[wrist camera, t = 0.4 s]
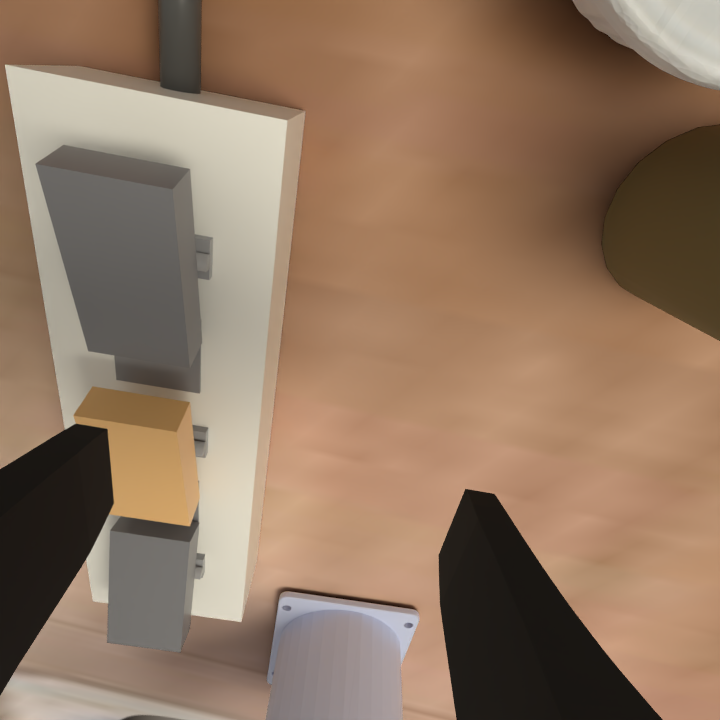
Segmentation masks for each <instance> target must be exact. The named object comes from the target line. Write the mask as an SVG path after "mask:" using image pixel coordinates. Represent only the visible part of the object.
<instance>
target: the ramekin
mask: <svg viewBox="0 0 720 720" xmlns="http://www.w3.org/2000/svg"><path fill="white" fill-rule="evenodd" d="M572 1H573V3H574V4H575V6H576V8H577V10H578V11H579V12H580V13H581V14H582V15H583V16H584V17H586V18H587V19H588V20H589V21H590V22H591V24H592V25H593V26H594V27H595V28H596V29H597V30H599V31H601V32H603V33H605V34H607V35H608V36H609V37H610V38H611V39H613V40H614V41H616V42H617V43H619V44H621V45H624V46H626V47H628V48H631V49H633V50H634V51H636V52H637V53H638V54H639V55H640V56H642V57H643V58H644V59H645V60H647V61H648V62H650V63H651V64H653V65H654V66H656V67H658V68H659V69H661V70H663V71H665V72H667V73H669V74H671V75H673V76H675V77H677V78H680V79H682V80H684V81H687V82H690V83H693V84H696V85H699V86H702V87H706V88H710V89H715V90H720V0H572Z"/></svg>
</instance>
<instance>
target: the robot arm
mask: <svg viewBox="0 0 720 720" xmlns="http://www.w3.org/2000/svg"><path fill="white" fill-rule="evenodd" d="M113 504H114V497H113V485H112V474H111V463H110V451H109V440H108V429H106V428H100V427H94V426H88V425H82V424H74V425H72V426H71V427H69V428H67V429H66V430H64V431H62V432H61V433H59V434H57V435H56V436H54V437H52V438H51V439H49V440H47V441H46V442H44V443H42V444H41V445H39V446H38V447H36V448H34V449H33V450H31V451H29V452H28V453H26V454H25V455H23V456H21V457H20V458H18V459H16V460H15V461H13V462H12V463H10V464H8V465H7V466H5V467H3V468H1V469H0V695H1V693H2V692H3V690H4V688H5V687H6V685H7V683H8V682H9V680H10V678H11V676H12V675H13V673H14V671H15V670H16V668H17V666H18V665H19V663H20V662H21V660H22V659H23V657H24V656H25V654H26V652H27V651H28V649H29V648H30V646H31V645H32V643H33V642H34V640H35V638H36V637H37V635H38V634H39V632H40V631H41V629H42V628H43V626H44V624H45V623H46V621H47V620H48V618H49V617H50V615H51V614H52V612H53V610H54V609H55V607H56V606H57V604H58V603H59V601H60V600H61V598H62V596H63V595H64V593H65V592H66V590H67V589H68V587H69V585H70V584H71V582H72V581H73V579H74V578H75V576H76V574H77V573H78V571H79V570H80V568H81V566H82V565H83V563H84V562H85V560H86V558H87V557H88V555H89V554H90V552H91V550H92V548H93V546H94V544H95V542H96V540H97V538H98V536H99V534H100V532H101V530H102V528H103V526H104V524H105V522H106V519H107V517H108V515H109V513H110V511H111V509H112V507H113ZM439 587H440V607H441V615H442V622H443V629H444V636H445V643H446V650H447V657H448V664H449V670H450V677H451V684H452V691H453V698H454V704H455V711H456V718H457V720H662V718H661V717H660V716H659V715H658V714H657V713H656V712H655V711H654V710H653V708H652V707H651V706H650V705H649V704H648V703H647V701H646V700H645V699H644V698H643V697H642V696H641V694H640V693H639V692H638V691H637V690H636V689H635V687H634V686H633V685H632V684H631V683H630V682H629V680H628V679H627V678H626V677H625V676H624V675H623V673H622V672H621V671H620V670H619V669H618V667H617V666H616V665H615V664H614V663H613V661H612V660H611V659H610V658H609V656H608V655H607V654H606V653H605V651H604V650H603V649H602V648H601V646H600V645H599V644H598V642H597V641H596V640H595V639H594V637H593V636H592V635H591V633H590V632H589V631H588V629H587V628H586V627H585V626H584V624H583V623H582V622H581V620H580V619H579V618H578V616H577V615H576V614H575V612H574V611H573V610H572V608H571V607H570V606H569V604H568V603H567V601H566V600H565V599H564V597H563V596H562V594H561V593H560V592H559V590H558V589H557V587H556V586H555V584H554V583H553V582H552V580H551V579H550V577H549V576H548V574H547V573H546V571H545V570H544V569H543V567H542V566H541V564H540V563H539V561H538V560H537V558H536V557H535V555H534V554H533V552H532V551H531V549H530V548H529V546H528V545H527V543H526V542H525V540H524V538H523V537H522V535H521V534H520V532H519V531H518V529H517V528H516V526H515V525H514V523H513V522H512V520H511V518H510V517H509V515H508V514H507V512H506V511H505V509H504V508H503V506H502V505H501V503H500V502H499V500H498V499H497V497H496V496H495V494H492V493H486V492H480V491H474V490H468V489H465V491H464V494H463V496H462V499H461V501H460V504H459V506H458V509H457V511H456V514H455V516H454V519H453V521H452V524H451V526H450V528H449V531H448V533H447V536H446V538H445V541H444V543H443V546H442V548H441V551H440V553H439ZM418 622H419V613H418V612H417V611H416V610H414V609H409V608H402V607H395V606H388V605H381V604H374V603H367V602H360V601H353V600H346V599H339V598H332V597H325V596H318V595H311V594H304V593H297V592H290V591H286V592H283V593H281V594H280V598H279V603H278V610H277V616H276V623H275V630H274V636H273V643H272V649H271V656H270V662H269V669H268V676H267V682H268V683H269V684H271V685H272V686H271V691H270V697H269V702H268V708H267V714H266V719H265V720H403V710H402V680H401V664H402V662H403V659H404V657H405V654H406V652H407V650H408V647H409V645H410V642H411V640H412V637H413V635H414V632H415V630H416V627H417V625H418Z"/></svg>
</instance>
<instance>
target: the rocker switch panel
mask: <svg viewBox="0 0 720 720" xmlns="http://www.w3.org/2000/svg"><path fill="white" fill-rule="evenodd" d="M201 7H202V0H158V19H159V57H160V82H158V81H153V80H148V79H143V78H138V77H133V76H128V75H123V74H118V73H113V72H108V71H103V70H98V69H93V68H88V67H83V66H55V65H5V68H6V74H7V80H8V86H9V92H10V98H11V105H12V111H13V117H14V123H15V129H16V135H17V141H18V147H19V153H20V159H21V165H22V172H23V178H24V184H25V190H26V196H27V202H28V208H29V214H30V220H31V226H32V232H33V239H34V245H35V251H36V257H37V263H38V269H39V275H40V281H41V287H42V293H43V299H44V306H45V312H46V318H47V324H48V330H49V336H50V342H51V348H52V354H53V360H54V366H55V373H56V379H57V385H58V391H59V397H60V403H61V409H62V415H63V421H64V427H65V430H66V429H67V428H69V427H71V426H72V425H74V424H76V422H75V419H74V417H73V415H74V413H75V412H76V410H77V409H78V407H79V406H80V404H81V403H82V401H83V400H84V398H85V397H86V395H87V394H88V392H89V391H90V389H91V388H92V386H94V387H100V388H106V389H112V390H119V391H125V392H131V393H137V394H143V395H149V396H155V397H161V398H167V399H174V400H180V401H186V402H190V407H191V416H192V426H193V436H194V445H195V455H196V465H197V474H198V484H199V493H200V499H199V502H198V505H197V508H196V511H195V513H194V516H193V519H192V521H193V522H200V524H199V535H198V545H197V556H196V567H195V578H194V589H193V600H192V611H191V615H195V616H202V617H209V618H216V619H223V620H230V621H238V622H242V618H243V614H244V610H245V606H246V602H247V598H248V594H249V590H250V586H251V582H252V579H253V575H254V571H255V567H256V563H257V558H258V549H259V539H260V530H261V521H262V512H263V502H264V493H265V484H266V474H267V465H268V456H269V447H270V437H271V428H272V419H273V409H274V400H275V391H276V382H277V372H278V363H279V354H280V344H281V335H282V326H283V317H284V307H285V298H286V289H287V279H288V270H289V261H290V252H291V242H292V233H293V224H294V214H295V205H296V196H297V187H298V177H299V168H300V159H301V149H302V140H303V131H304V121H305V112H306V111H303V110H298V109H293V108H288V107H283V106H278V105H273V104H268V103H263V102H258V101H253V100H248V99H243V98H238V97H233V96H228V95H223V94H218V93H213V92H208V91H203V90H201ZM62 145H67V146H72V147H78V148H83V149H88V150H93V151H99V152H104V153H109V154H114V155H120V156H125V157H130V158H135V159H141V160H146V161H151V162H157V163H162V164H167V165H172V166H178V167H183V168H188V169H190V174H191V188H192V202H193V217H194V231H195V245H196V259H197V274H198V288H199V302H200V316H201V331H202V344H201V346H200V348H199V350H198V352H197V355H196V357H195V359H194V361H193V363H192V365H191V367H190V368H186V367H180V366H174V365H168V364H162V363H156V362H150V361H144V360H138V359H132V358H126V357H120V356H114V355H108V354H102V353H96V352H90V351H88V349H87V345H86V342H85V338H84V334H83V331H82V327H81V324H80V320H79V317H78V313H77V310H76V306H75V303H74V299H73V296H72V292H71V289H70V285H69V281H68V278H67V274H66V271H65V267H64V264H63V260H62V257H61V253H60V250H59V246H58V243H57V239H56V235H55V232H54V228H53V225H52V221H51V218H50V214H49V211H48V207H47V204H46V200H45V197H44V193H43V190H42V186H41V182H40V179H39V175H38V172H37V168H36V165H35V164H36V163H37V162H39V161H40V160H42V159H43V158H45V157H46V156H48V155H49V154H51V153H52V152H54V151H55V150H57V149H58V148H59V147H61V146H62ZM119 518H120V516H117V515H110V514H109V515H108V517H107V519H106V522H105V524H104V526H103V528H102V530H101V532H100V534H99V536H98V538H97V540H96V542H95V544H94V546H93V548H92V550H91V552H90V554H89V555H88V557H87V558H86V561H87V567H88V574H89V580H90V586H91V592H92V598H93V601H94V602H101V603H108V591H109V549H110V530H111V528H112V527H113V526H114V524H115V523H116V522H117V520H118V519H119Z"/></svg>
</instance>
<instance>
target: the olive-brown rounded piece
mask: <svg viewBox="0 0 720 720" xmlns="http://www.w3.org/2000/svg"><path fill="white" fill-rule="evenodd" d="M602 248H603V253H604V257H605V262H606V266H607V269H608V270H609V271H610V273H611V274H612V276H613V277H614V278H615V280H616V281H617V283H618V284H619V285H620V286H621V287H622V288H624V289H626V290H627V291H629V292H631V293H632V294H634V295H635V296H637V297H639V298H640V299H642V300H644V301H646V302H648V303H650V304H652V305H654V306H655V307H657V308H659V309H661V310H663V311H665V312H667V313H668V314H670V315H672V316H674V317H676V318H678V319H680V320H682V321H683V322H685V323H687V324H689V325H691V326H693V327H695V328H696V329H698V330H700V331H702V332H704V333H706V334H708V335H710V336H711V337H713V338H715V339H717V340H719V341H720V125H714V126H705V127H698V128H696V129H694V130H691V131H689V132H687V133H684V134H682V135H680V136H677V137H675V138H673V139H670V140H668V141H666V142H665V143H664V144H662V145H661V146H660V147H658V148H657V149H656V150H654V151H653V152H652V153H651V154H649V155H648V156H647V157H645V158H644V159H643V160H641V161H640V162H639V163H638V164H637V165H636V167H635V168H634V169H633V170H632V172H631V173H630V174H629V175H628V177H627V178H626V179H625V180H624V182H623V183H622V184H621V185H620V187H619V188H618V189H617V191H616V194H615V196H614V198H613V200H612V203H611V205H610V207H609V209H608V211H607V214H606V216H605V221H604V229H603V237H602Z"/></svg>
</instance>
